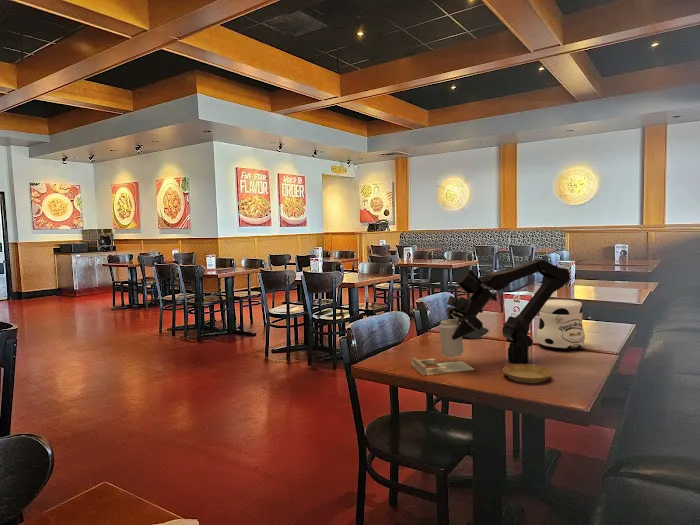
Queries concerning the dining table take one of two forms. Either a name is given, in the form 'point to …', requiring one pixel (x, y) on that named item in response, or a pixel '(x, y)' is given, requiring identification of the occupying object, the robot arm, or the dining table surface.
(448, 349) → the can
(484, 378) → the dining table surface
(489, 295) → the robot arm
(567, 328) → the milk container
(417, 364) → the shelf lane
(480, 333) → the dark slate chunk
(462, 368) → the mat
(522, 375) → the plant saucer
